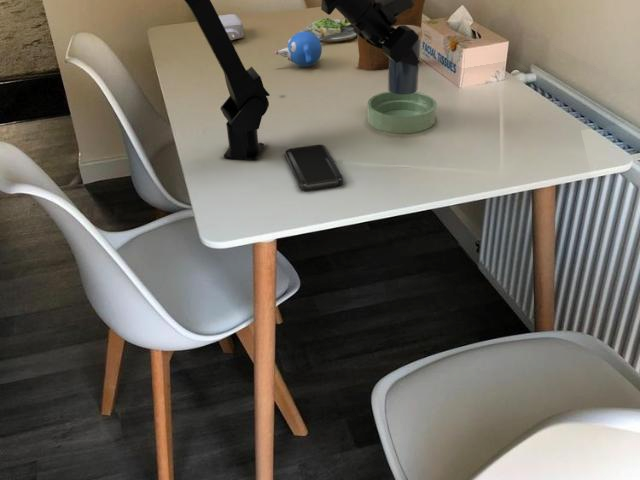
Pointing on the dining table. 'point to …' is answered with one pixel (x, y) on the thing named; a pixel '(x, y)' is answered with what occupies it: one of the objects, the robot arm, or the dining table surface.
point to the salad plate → (331, 30)
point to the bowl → (401, 112)
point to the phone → (313, 167)
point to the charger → (232, 26)
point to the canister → (405, 70)
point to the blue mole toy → (302, 49)
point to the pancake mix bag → (374, 56)
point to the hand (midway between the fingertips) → (410, 59)
